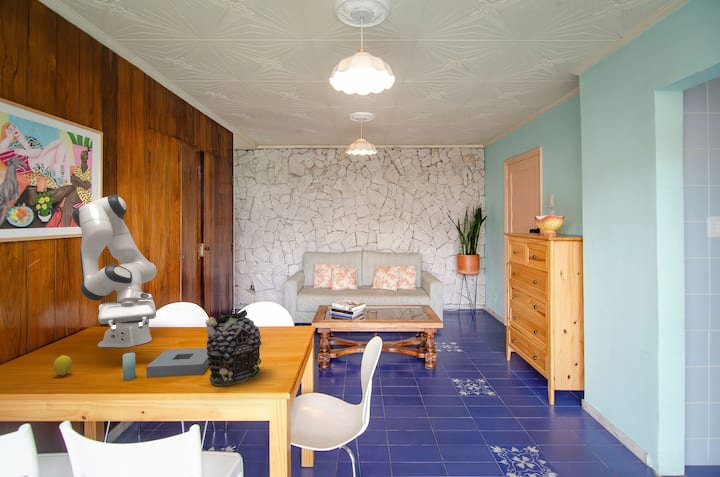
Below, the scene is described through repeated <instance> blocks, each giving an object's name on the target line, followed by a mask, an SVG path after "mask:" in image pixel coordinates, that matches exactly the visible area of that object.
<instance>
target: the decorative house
mask: <svg viewBox="0 0 720 477" xmlns="http://www.w3.org/2000/svg"><path fill="white" fill-rule="evenodd" d="M246 316H248V312H247V310H246V309H244V310H242V311H240V312H238V313H237V312H234V313H222V314H221V315H220V319H219V321H218V319H216V318H215V317H213V316H212V317H209V318H207V319H206V320H205V325H206V333H207V339H206V347H205V348H207V355H208V361H207V362H208V365H209V366H208V367H209V371H210V372H211V373H210V375H209V381H210V382H211V384H212V385H215V386H230V385H234V384H238V383H239V384H240V383H241V382H245V381H247V380H250V379H253V378H255V377H258V375H259V374H260V371H261V367H260V366H259V365H261V363H262V359H261V358H260V356H261V355H260V348H261V347H260V346H262V344H263V342H262V341H261V339H262V335H261V331H260V330H259V327H258V326H257V325H256V324H255V322H254V320H252V319H250V318H249V317H246Z"/></svg>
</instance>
